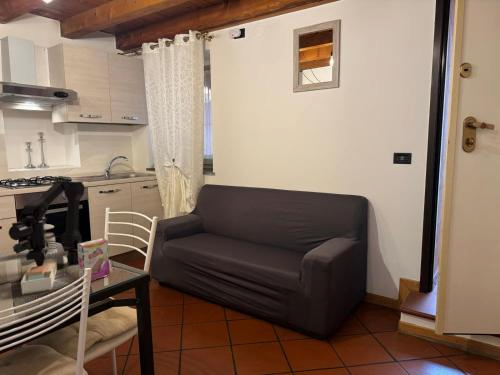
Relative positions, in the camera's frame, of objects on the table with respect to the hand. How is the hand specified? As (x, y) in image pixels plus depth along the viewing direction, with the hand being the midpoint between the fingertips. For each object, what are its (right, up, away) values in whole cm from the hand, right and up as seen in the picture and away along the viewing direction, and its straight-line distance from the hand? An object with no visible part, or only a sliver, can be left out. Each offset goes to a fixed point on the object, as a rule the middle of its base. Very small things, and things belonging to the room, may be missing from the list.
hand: (40, 268), depth 146 cm
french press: (-19, 0, +37) cm, 41 cm away
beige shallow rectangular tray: (-2, -4, +6) cm, 8 cm away
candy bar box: (+23, -5, +1) cm, 23 cm away
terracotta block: (+1, -2, -3) cm, 3 cm away
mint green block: (+3, -2, -7) cm, 8 cm away
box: (+3, -6, -6) cm, 9 cm away
